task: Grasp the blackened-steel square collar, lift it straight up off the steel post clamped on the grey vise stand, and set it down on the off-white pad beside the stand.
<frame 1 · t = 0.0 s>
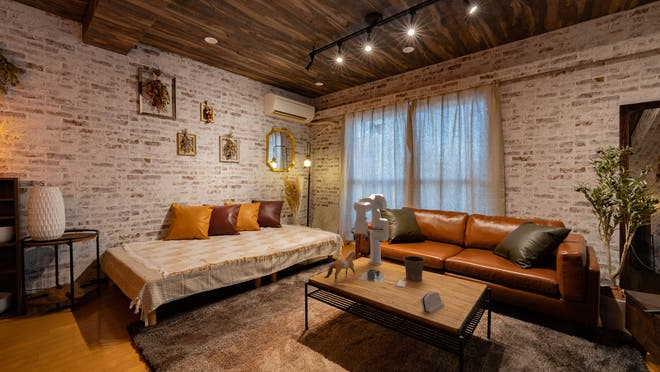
hand: (360, 240, 214), 31 cm above the table, tool pointing down, fingers open, 9 cm apart
horse figurine: (340, 280, 214), on the table
plant pot: (413, 278, 217), on the table
collar: (372, 277, 216), point 1 cm above the table, touching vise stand
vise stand: (372, 279, 216), on the table
pad: (398, 283, 207), on the table
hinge: (432, 308, 169), on the table
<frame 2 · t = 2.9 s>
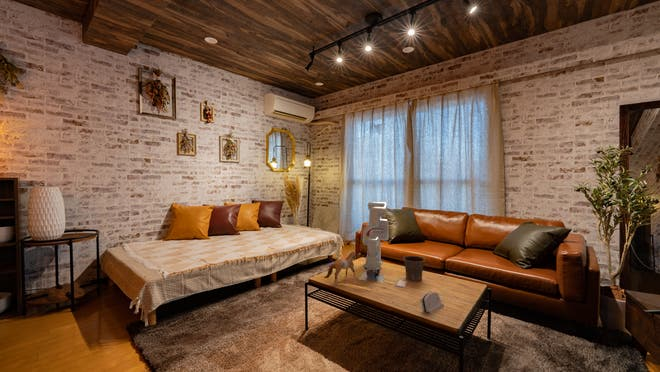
hand: (372, 276, 216), 2 cm above the table, tool pointing down, fingers closed on collar, 6 cm apart
collar: (372, 277, 216), point 2 cm above the table, touching gripper, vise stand
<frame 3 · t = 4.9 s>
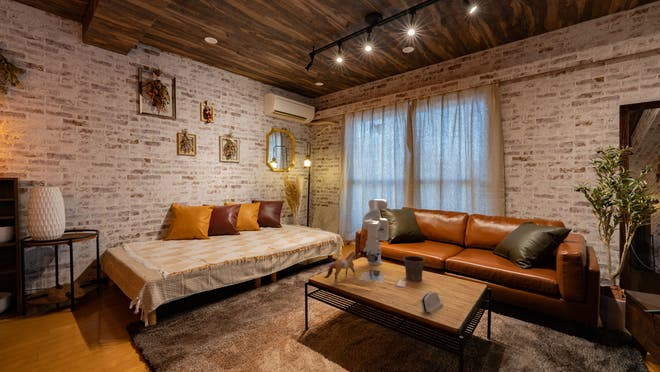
hand: (372, 260, 216), 15 cm above the table, tool pointing down, fingers closed on collar, 6 cm apart
collar: (372, 261, 216), point 14 cm above the table, touching gripper
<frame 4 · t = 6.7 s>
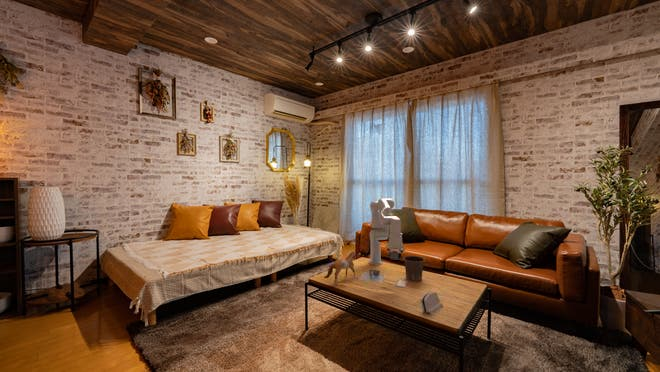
hand: (395, 257, 207), 20 cm above the table, tool pointing down, fingers closed on collar, 6 cm apart
collar: (395, 258, 207), point 19 cm above the table, touching gripper
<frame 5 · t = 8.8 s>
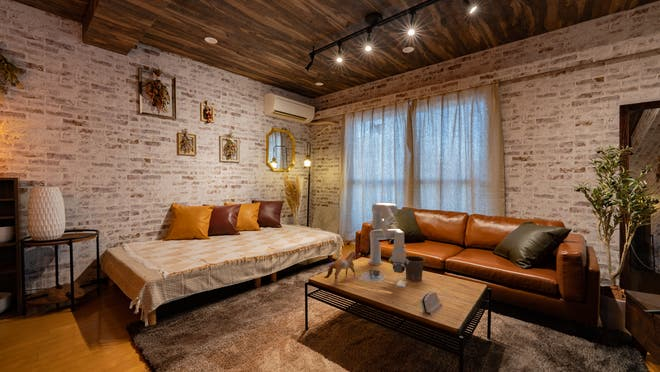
hand: (398, 270, 206), 10 cm above the table, tool pointing down, fingers closed on collar, 6 cm apart
collar: (398, 271, 206), point 10 cm above the table, touching gripper
when the fingers open (3 cm above the table, at t = 10.7 s): collar drops 1 cm, resting on pad.
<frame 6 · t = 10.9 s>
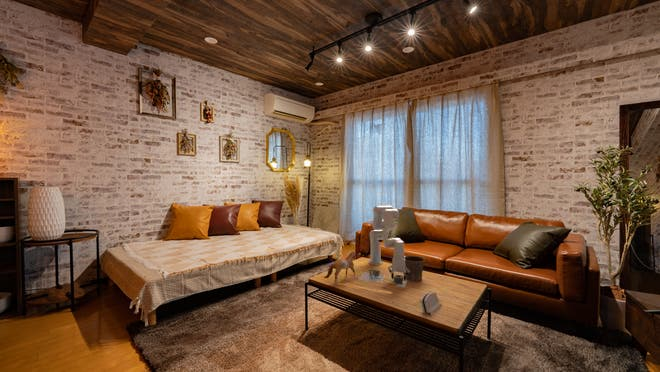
hand: (398, 279, 206), 3 cm above the table, tool pointing down, fingers open, 8 cm apart
collar: (398, 282, 207), point 1 cm above the table, touching pad
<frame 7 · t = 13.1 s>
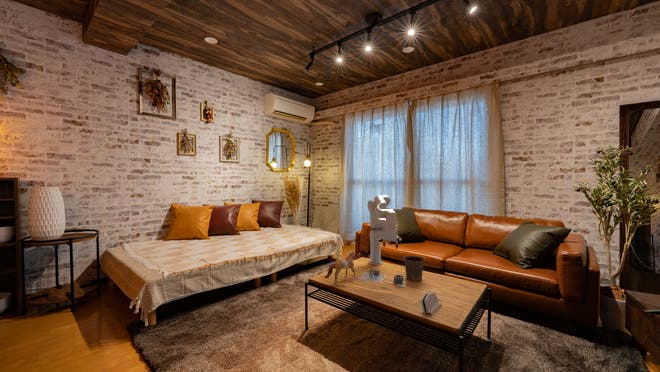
hand: (390, 247, 216), 25 cm above the table, tool pointing down, fingers open, 9 cm apart
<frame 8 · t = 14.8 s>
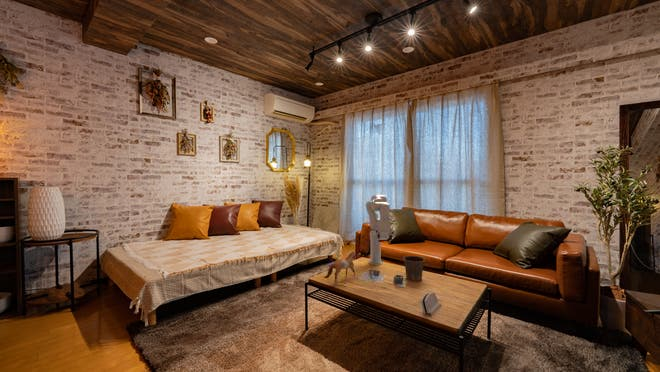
hand: (384, 239, 223), 30 cm above the table, tool pointing down, fingers open, 9 cm apart
at the end: collar inside the target area on the pad (0.0 cm from its centre), point 0.8 cm above the pad's base; collar tilted 0°; the gripper is holding nothing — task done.
